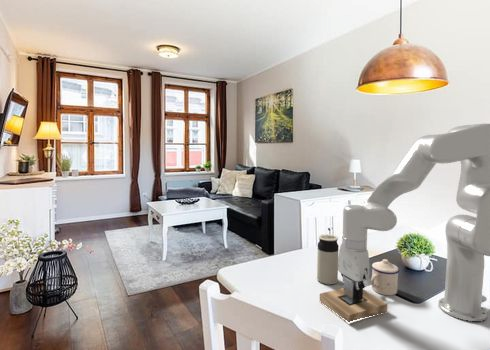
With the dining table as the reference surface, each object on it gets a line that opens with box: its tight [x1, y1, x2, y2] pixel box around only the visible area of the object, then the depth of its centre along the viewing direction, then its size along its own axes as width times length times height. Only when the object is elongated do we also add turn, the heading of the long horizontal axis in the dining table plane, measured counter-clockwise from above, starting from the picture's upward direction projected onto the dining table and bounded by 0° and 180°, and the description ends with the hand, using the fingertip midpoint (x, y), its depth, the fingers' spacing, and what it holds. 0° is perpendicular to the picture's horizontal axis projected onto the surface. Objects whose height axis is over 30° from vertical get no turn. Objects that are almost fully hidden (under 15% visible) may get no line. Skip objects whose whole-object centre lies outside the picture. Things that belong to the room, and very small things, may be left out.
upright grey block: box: [341, 275, 364, 306], centre depth 96 cm, size 6×4×9 cm, turn 113°
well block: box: [319, 287, 388, 322], centre depth 96 cm, size 16×14×3 cm
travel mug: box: [316, 233, 340, 285], centre depth 115 cm, size 8×8×18 cm
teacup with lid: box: [370, 258, 400, 296], centre depth 106 cm, size 12×9×12 cm
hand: (352, 295), depth 96 cm, fingers closed on upright grey block, 4 cm apart
